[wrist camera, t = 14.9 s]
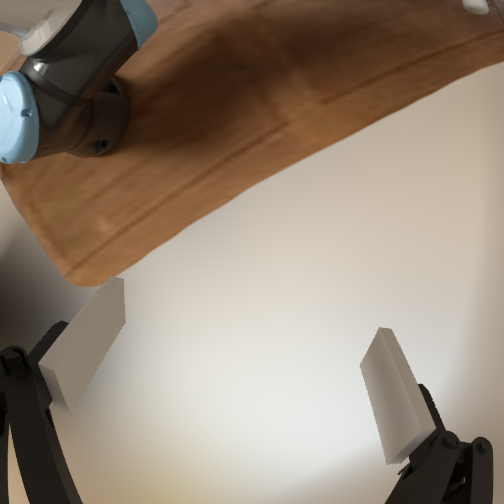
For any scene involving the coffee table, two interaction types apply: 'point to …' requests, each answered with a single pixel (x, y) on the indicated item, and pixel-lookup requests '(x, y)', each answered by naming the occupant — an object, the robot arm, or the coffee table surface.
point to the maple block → (476, 6)
